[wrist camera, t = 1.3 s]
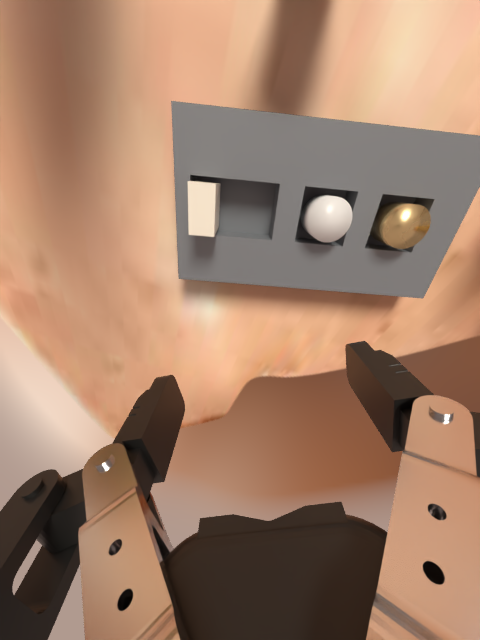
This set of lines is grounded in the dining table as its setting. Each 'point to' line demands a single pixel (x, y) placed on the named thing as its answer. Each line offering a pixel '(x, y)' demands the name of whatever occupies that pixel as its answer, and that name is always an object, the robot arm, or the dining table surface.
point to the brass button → (401, 224)
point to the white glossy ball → (326, 217)
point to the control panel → (312, 180)
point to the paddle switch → (203, 208)
